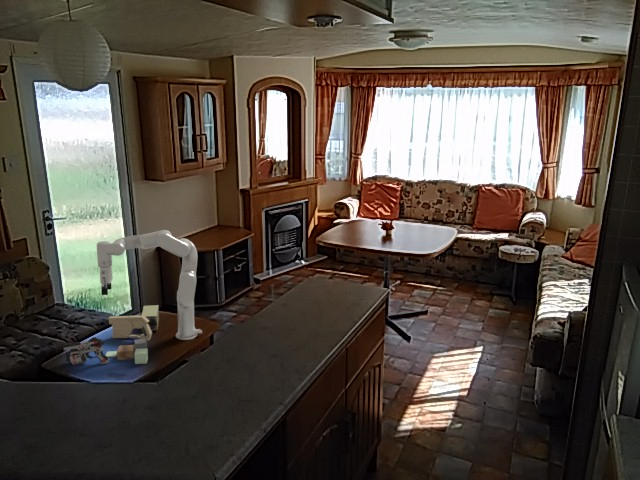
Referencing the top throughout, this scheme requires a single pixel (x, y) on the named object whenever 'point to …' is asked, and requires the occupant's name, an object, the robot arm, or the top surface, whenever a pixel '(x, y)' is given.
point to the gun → (130, 326)
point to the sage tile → (111, 354)
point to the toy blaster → (85, 351)
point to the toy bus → (152, 316)
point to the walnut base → (125, 352)
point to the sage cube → (141, 356)
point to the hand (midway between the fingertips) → (106, 292)
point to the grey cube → (140, 344)
